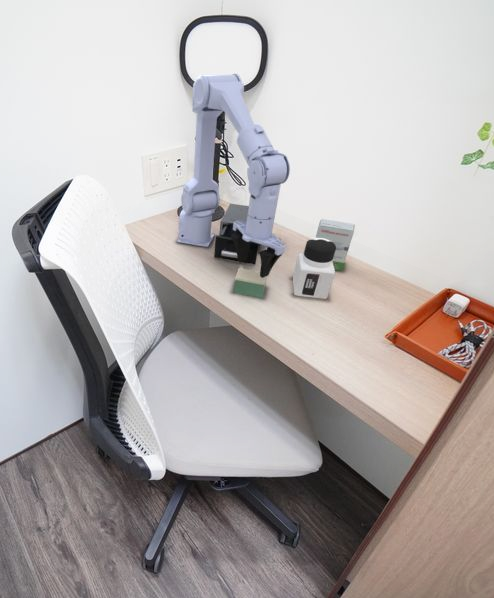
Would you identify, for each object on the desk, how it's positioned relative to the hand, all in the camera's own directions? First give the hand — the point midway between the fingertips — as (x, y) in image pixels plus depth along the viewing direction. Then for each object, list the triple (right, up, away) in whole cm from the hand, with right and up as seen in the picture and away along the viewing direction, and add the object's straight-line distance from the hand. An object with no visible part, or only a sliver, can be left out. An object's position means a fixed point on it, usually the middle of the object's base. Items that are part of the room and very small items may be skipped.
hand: (252, 268), depth 85 cm
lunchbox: (0, -5, +4) cm, 6 cm away
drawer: (-1, +5, +16) cm, 17 cm away
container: (+15, -5, +5) cm, 16 cm away
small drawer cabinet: (+2, +11, +25) cm, 27 cm away
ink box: (+23, +2, +14) cm, 27 cm away
